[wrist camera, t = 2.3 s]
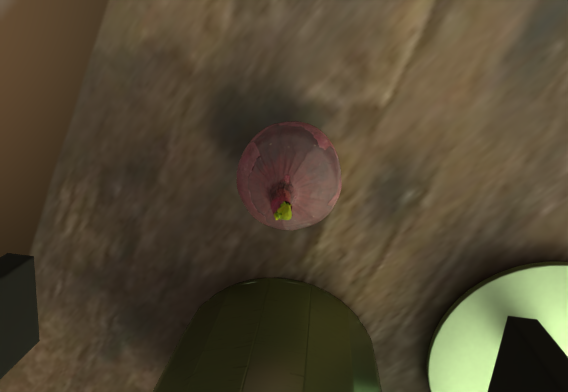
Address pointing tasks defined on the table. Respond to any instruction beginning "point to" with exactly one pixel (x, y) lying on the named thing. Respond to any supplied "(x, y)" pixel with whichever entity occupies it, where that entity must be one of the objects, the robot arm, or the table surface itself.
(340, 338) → the canister
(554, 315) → the canister lid
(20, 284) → the robot arm
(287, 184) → the vegetable
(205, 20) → the table surface
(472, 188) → the table surface
